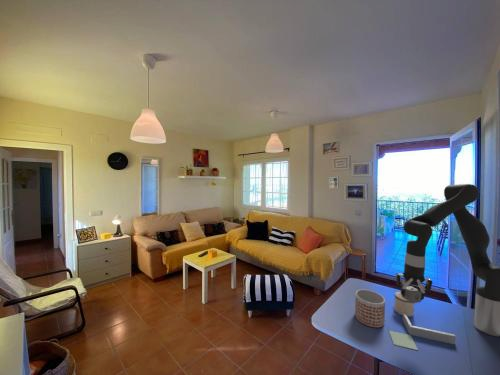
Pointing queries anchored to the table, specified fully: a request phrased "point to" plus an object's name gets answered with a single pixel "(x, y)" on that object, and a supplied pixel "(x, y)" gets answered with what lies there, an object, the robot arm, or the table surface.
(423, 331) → the pen walls
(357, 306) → the planter
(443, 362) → the table surface
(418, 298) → the dice cube
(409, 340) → the mat
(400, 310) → the teacup with lid
